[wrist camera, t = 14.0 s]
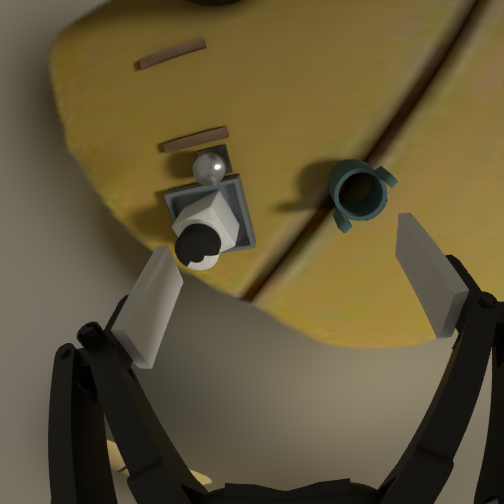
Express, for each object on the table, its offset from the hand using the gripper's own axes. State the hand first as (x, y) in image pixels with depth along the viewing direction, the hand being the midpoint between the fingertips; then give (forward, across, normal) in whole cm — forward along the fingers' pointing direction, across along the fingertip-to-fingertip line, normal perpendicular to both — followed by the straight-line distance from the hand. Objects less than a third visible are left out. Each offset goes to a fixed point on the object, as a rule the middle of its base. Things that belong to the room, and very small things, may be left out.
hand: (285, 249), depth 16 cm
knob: (+30, -10, -2) cm, 32 cm away
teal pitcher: (+30, +11, -9) cm, 34 cm away
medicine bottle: (+29, -13, -10) cm, 34 cm away
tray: (+30, -13, -10) cm, 34 cm away
